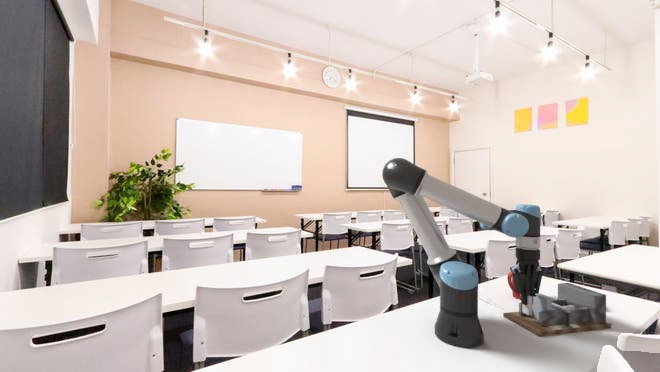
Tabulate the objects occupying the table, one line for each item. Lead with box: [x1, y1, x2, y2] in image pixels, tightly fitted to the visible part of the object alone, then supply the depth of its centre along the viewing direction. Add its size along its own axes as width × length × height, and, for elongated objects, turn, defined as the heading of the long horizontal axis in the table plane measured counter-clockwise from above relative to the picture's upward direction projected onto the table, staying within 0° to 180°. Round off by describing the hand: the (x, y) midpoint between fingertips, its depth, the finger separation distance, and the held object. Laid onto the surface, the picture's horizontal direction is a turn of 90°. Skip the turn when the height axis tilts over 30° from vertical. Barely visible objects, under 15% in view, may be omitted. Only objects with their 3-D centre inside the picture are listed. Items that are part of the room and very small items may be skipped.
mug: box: [506, 264, 521, 300], centre depth 139 cm, size 13×9×14 cm
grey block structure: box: [502, 282, 612, 338], centre depth 114 cm, size 30×16×12 cm, turn 102°
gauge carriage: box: [531, 292, 571, 326], centre depth 111 cm, size 8×11×9 cm
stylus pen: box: [478, 294, 506, 312], centre depth 132 cm, size 15×3×2 cm, turn 16°
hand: (527, 313), depth 112 cm, fingers closed
